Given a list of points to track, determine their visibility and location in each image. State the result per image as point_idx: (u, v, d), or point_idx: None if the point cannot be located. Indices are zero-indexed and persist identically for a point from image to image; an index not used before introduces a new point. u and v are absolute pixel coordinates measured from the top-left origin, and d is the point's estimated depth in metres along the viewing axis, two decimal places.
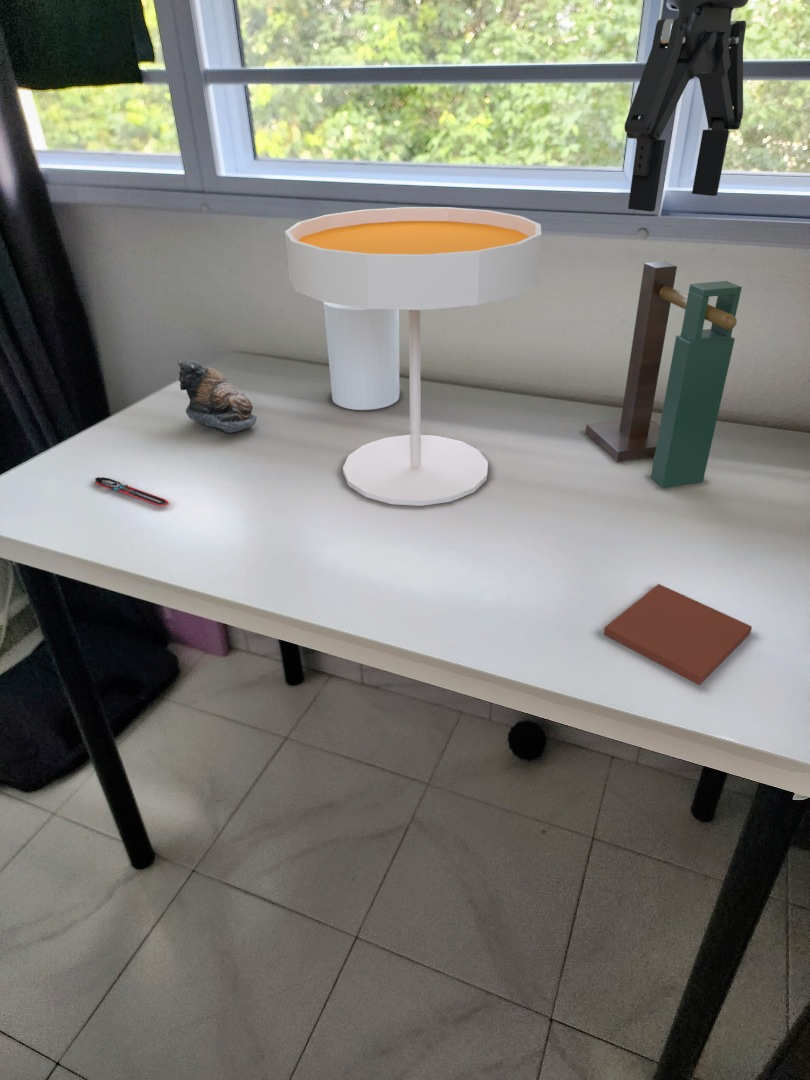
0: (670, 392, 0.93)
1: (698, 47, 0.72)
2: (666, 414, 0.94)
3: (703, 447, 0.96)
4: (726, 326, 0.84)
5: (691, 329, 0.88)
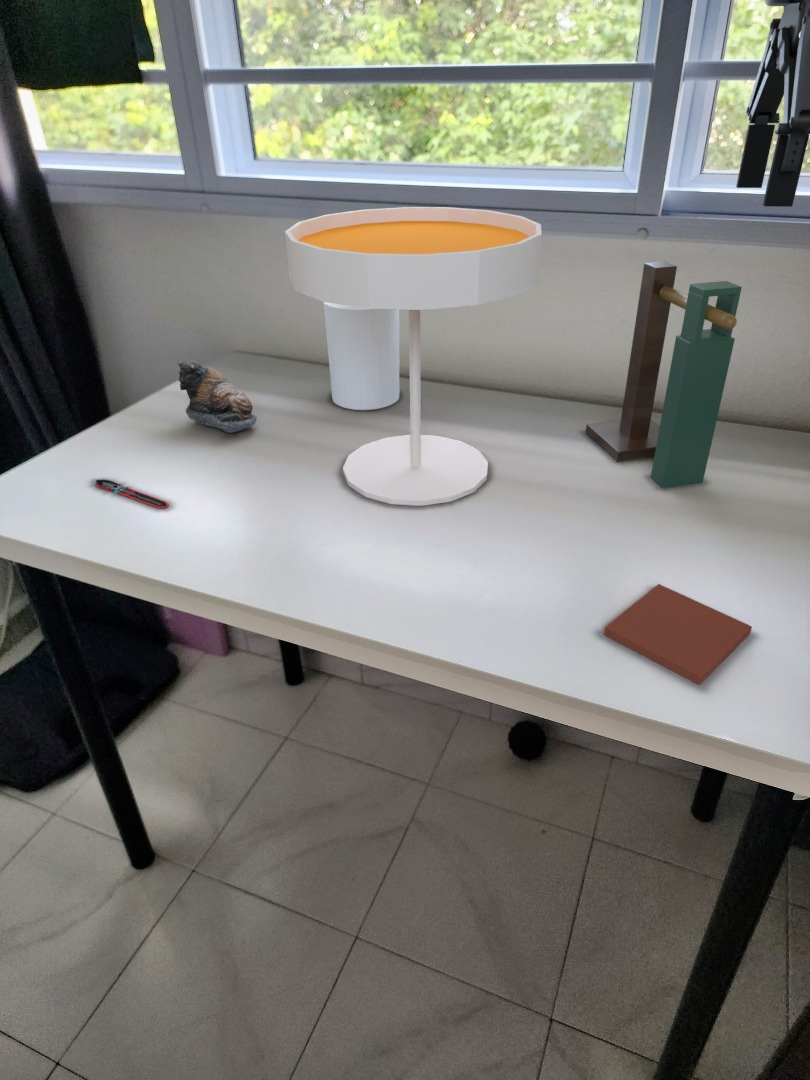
0: (670, 392, 0.93)
1: None
2: (666, 414, 0.94)
3: (703, 447, 0.96)
4: (726, 326, 0.84)
5: (691, 329, 0.88)
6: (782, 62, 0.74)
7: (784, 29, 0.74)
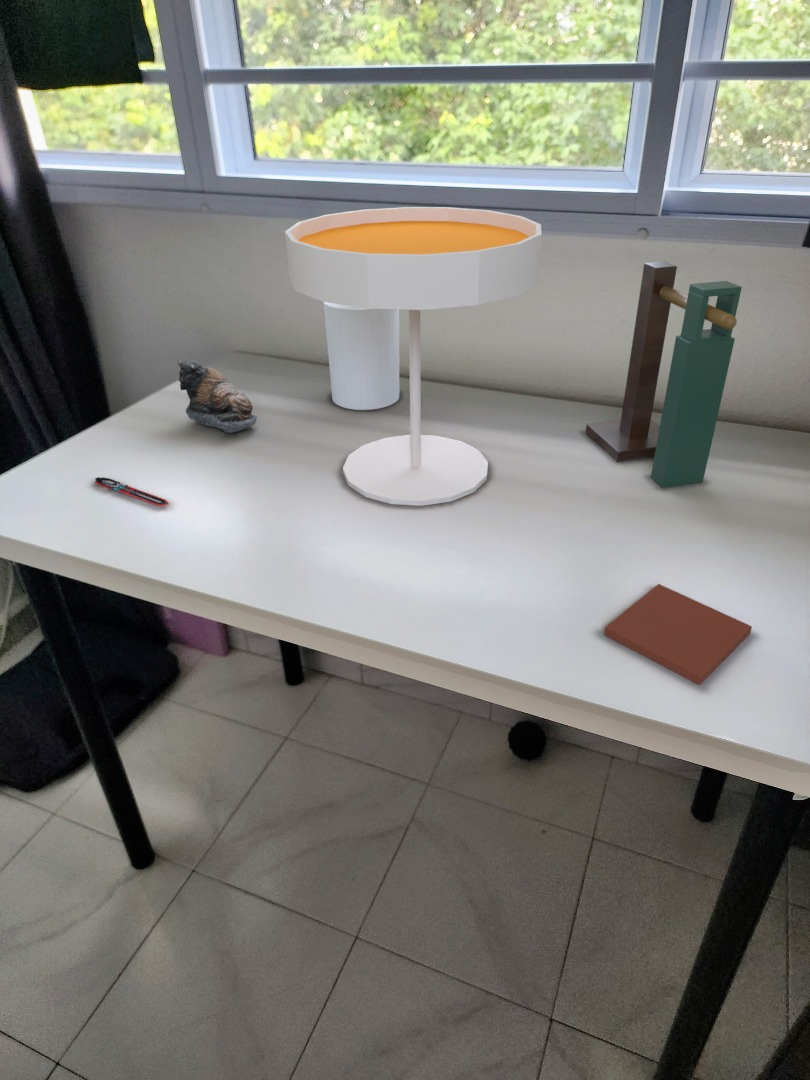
0: (670, 392, 0.93)
1: None
2: (666, 414, 0.94)
3: (703, 447, 0.96)
4: (726, 326, 0.84)
5: (691, 329, 0.88)
6: None
7: None
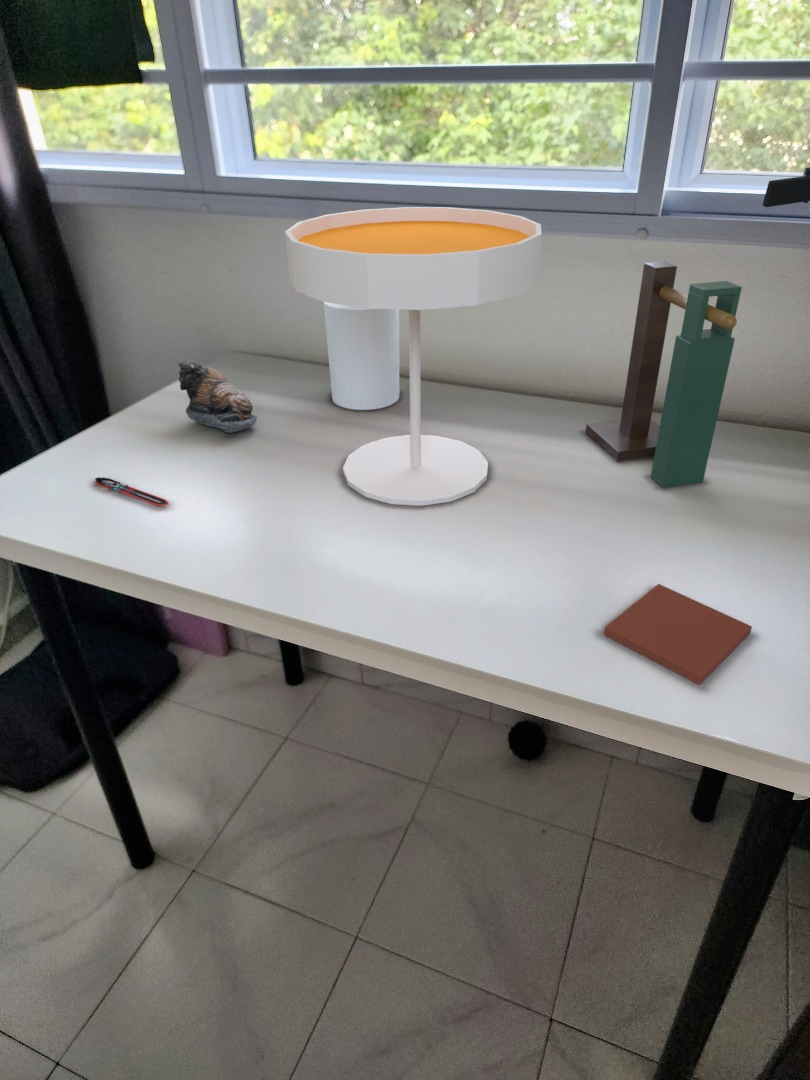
0: (670, 392, 0.93)
1: None
2: (666, 414, 0.94)
3: (703, 447, 0.96)
4: (726, 326, 0.84)
5: (691, 329, 0.88)
6: None
7: None
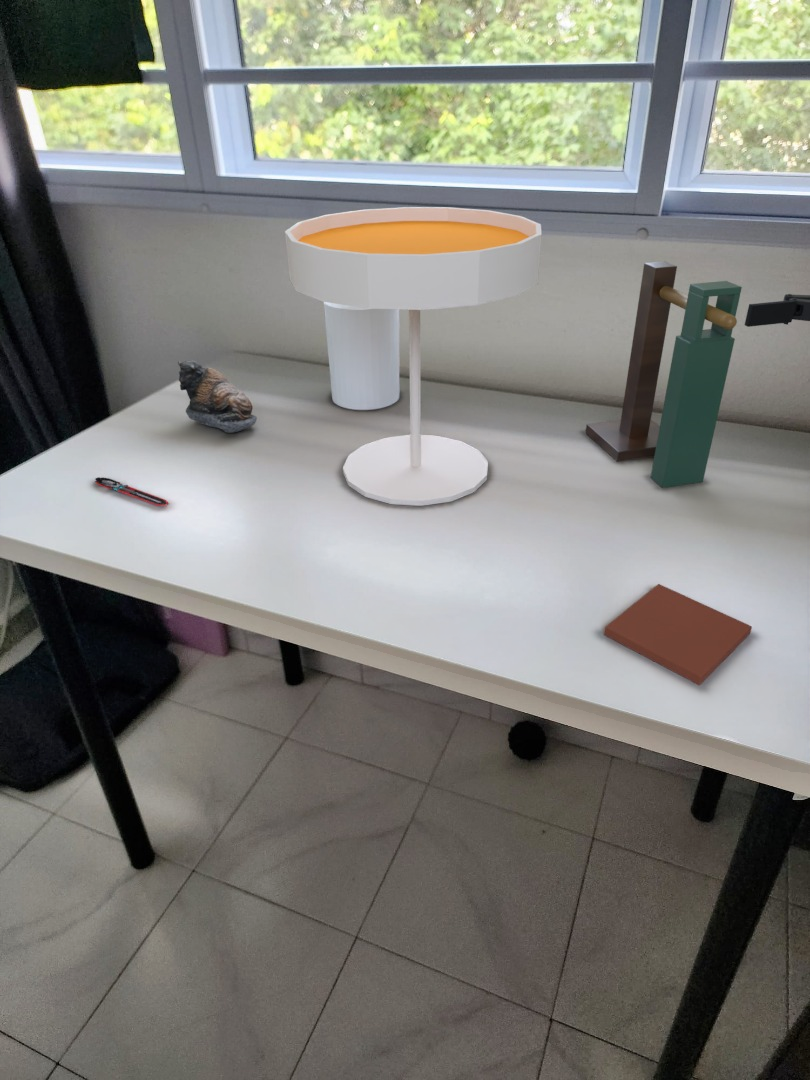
0: (670, 392, 0.93)
1: None
2: (666, 414, 0.94)
3: (703, 447, 0.96)
4: (726, 326, 0.84)
5: (691, 329, 0.88)
6: None
7: None
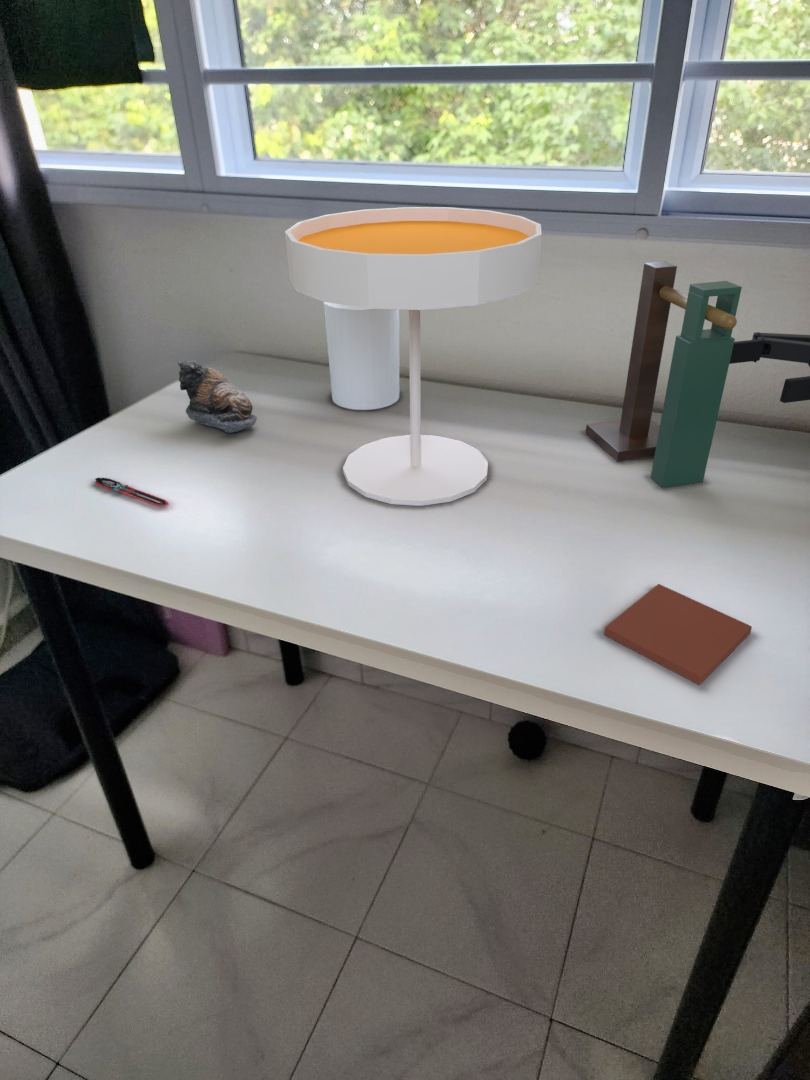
0: (670, 392, 0.93)
1: None
2: (666, 414, 0.94)
3: (703, 447, 0.96)
4: (726, 326, 0.84)
5: (691, 329, 0.88)
6: None
7: None
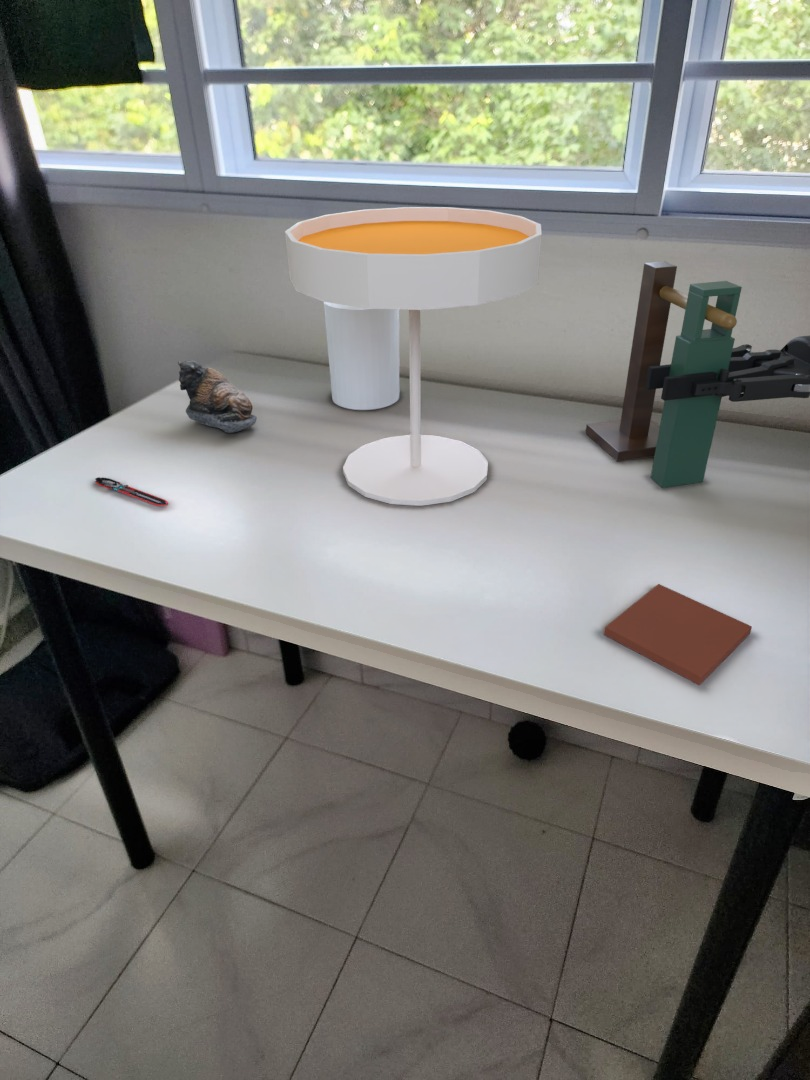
0: None
1: None
2: (666, 414, 0.94)
3: (703, 447, 0.96)
4: (726, 326, 0.84)
5: (691, 329, 0.88)
6: None
7: None
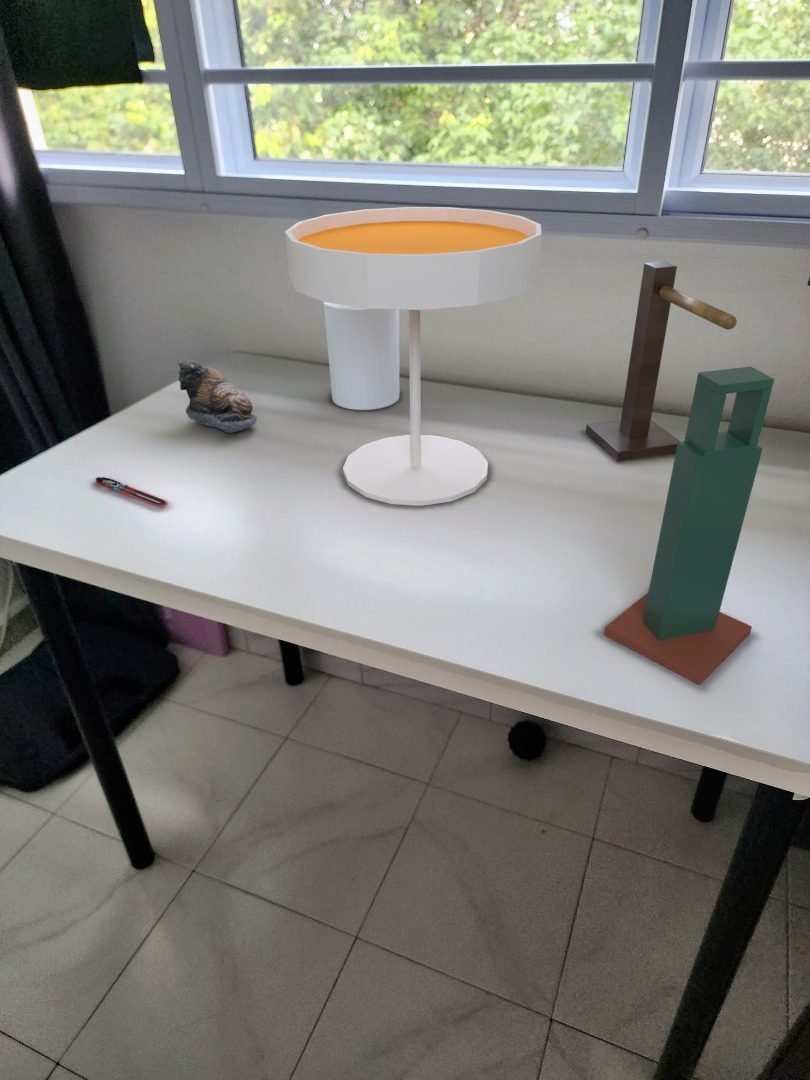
0: (669, 517, 0.65)
1: None
2: (664, 545, 0.67)
3: (715, 588, 0.69)
4: (726, 326, 0.84)
5: (699, 437, 0.61)
6: None
7: None
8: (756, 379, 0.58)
